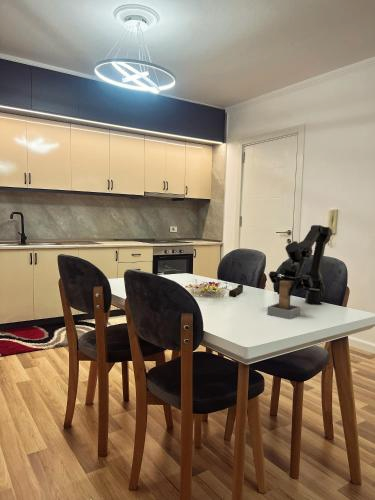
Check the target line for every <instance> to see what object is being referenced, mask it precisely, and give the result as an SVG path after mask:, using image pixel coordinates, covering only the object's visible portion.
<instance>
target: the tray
mask: <svg viewBox="0 0 375 500" xmlns="http://www.w3.org/2000/svg"><path fill="white" fill-rule="evenodd" d="M301 308H302V307H301V306H299V305H291V304H290V310H285V309H280V308H279V302H277V303H275V304H271V305H269V306H267V316H271V317H272V316H273V317H278V318H283V319H288V320H292V319H294V318H296V317H298V316H301V311H302V310H301Z"/></svg>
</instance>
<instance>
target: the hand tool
mask: <svg viewBox="0 0 375 500" xmlns="http://www.w3.org/2000/svg"><path fill="white" fill-rule="evenodd" d="M243 290H244V284H243V283H241V284H238V285H237V287H235V288H233V289H230V290H229V291H228V296H229V297H230V298H235V297H237V295H239V294H243V292H244V291H243Z"/></svg>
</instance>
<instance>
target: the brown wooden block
mask: <svg viewBox="0 0 375 500" xmlns="http://www.w3.org/2000/svg"><path fill="white" fill-rule="evenodd" d="M291 288H292V282H291V281H287V280H282V281H280V288H279V294H278V303H279V308H280V309H285V310H290V305H291V296H292V295H291V296H289V292H290V290H291Z"/></svg>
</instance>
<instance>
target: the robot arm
mask: <svg viewBox="0 0 375 500" xmlns="http://www.w3.org/2000/svg"><path fill="white" fill-rule="evenodd" d="M332 236H333V229H331V228H330V226H323V225H321V224H313V225H310V230H309V231H308V233H307V234H306V236H305V237H304V239H303V240H301V241H300V242H298V241H297V240H296V241H294V240H293V241H291V243H288V244H286V246H285V251H286V254H287V257H288V258H289V260H291V261H290V262H288V261H283V262H282V264H281V267H280V269H281V270H282V271H283V272H282V274H281V273H280V272H279V271H270V272H269V273H268V277H269V279H270V282H271V283H272V284H276V285H277V295H279V288H280V281H282V280H287V281H291V283H293V284H292V285H291V290H290V292H289V296H292V295H294V294H295V293H297V292H298V291H300V290H301V289H302V290H303V289H304V291H306V293H305V300H304V302H305V303H307V304H309V305H323V302H322V293H325V289H326V286H325V285H324V281H323V279H324V278H323V275H322V273H321V270H322V264H323V260H324V255H325V251H326V246H327V245H328V243H329V242H330V240H331V237H332ZM314 245H315V246H314ZM313 246H314V250H313ZM312 254H313V256H312ZM311 256H312V261H311V265H310V269H309V271H307V272H306V273H305V274H302V271H303V268H304V267H306V259H309V258H310V257H311Z"/></svg>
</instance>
